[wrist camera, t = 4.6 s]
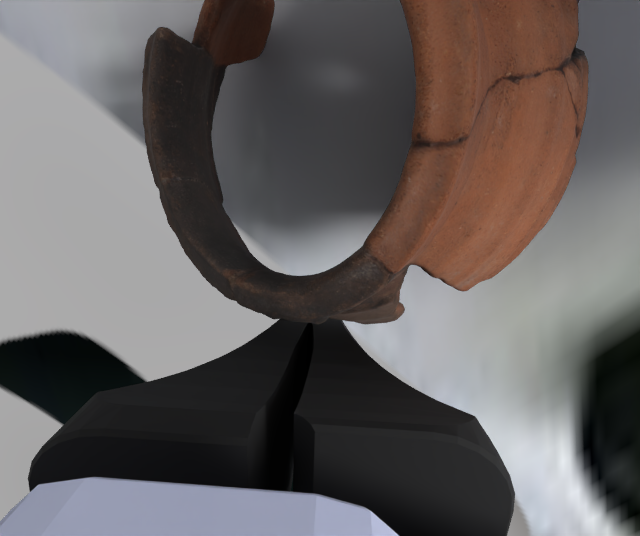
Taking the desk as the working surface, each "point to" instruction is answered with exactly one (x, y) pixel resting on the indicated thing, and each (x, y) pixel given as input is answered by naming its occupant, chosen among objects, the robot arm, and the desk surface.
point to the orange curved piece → (421, 163)
